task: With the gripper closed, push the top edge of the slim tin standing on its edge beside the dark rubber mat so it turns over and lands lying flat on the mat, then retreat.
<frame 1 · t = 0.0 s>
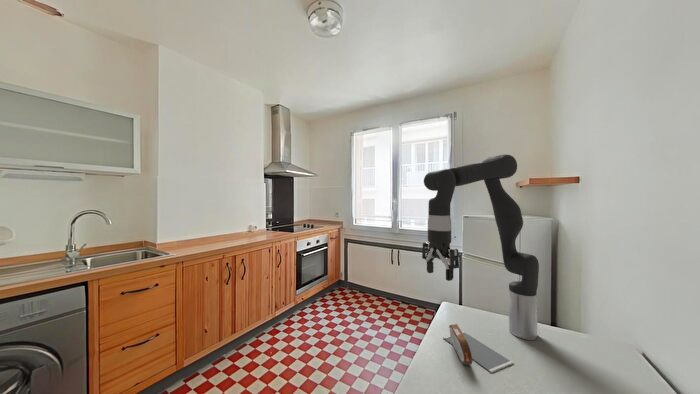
hand: (439, 276, 79), 29 cm above the table, tool pointing down, fingers open, 8 cm apart
mat: (475, 350, 86), on the table
tin: (460, 355, 83), on the table, touching mat
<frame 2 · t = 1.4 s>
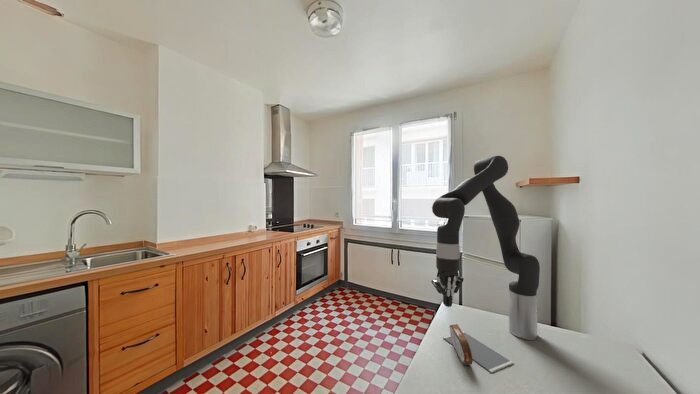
hand: (447, 305, 81), 19 cm above the table, tool pointing down, fingers closed
nothing on the table moved.
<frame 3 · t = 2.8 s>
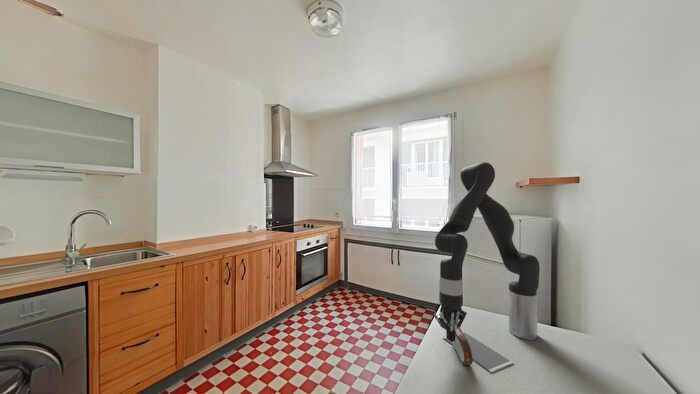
hand: (450, 340, 81), 6 cm above the table, tool pointing down, fingers closed
tin: (460, 355, 83), on the table, touching gripper, mat
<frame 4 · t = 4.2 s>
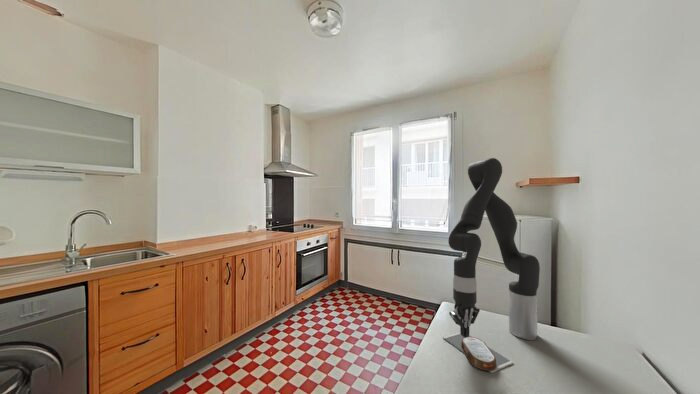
hand: (464, 336, 83), 6 cm above the table, tool pointing down, fingers closed
tin: (464, 349, 82), point 2 cm above the table, touching mat
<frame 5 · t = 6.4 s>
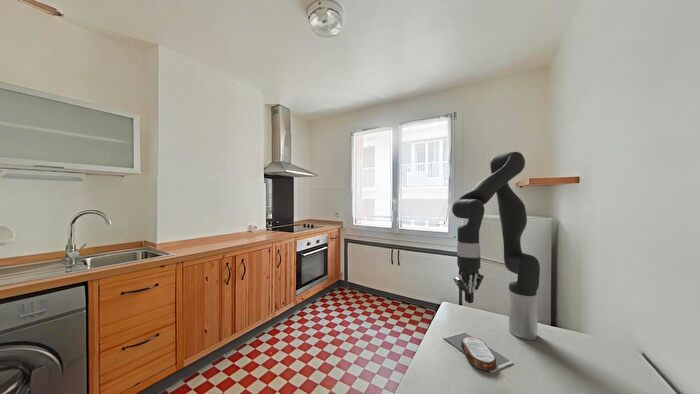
hand: (469, 302, 84), 18 cm above the table, tool pointing down, fingers closed
nothing on the table moved.
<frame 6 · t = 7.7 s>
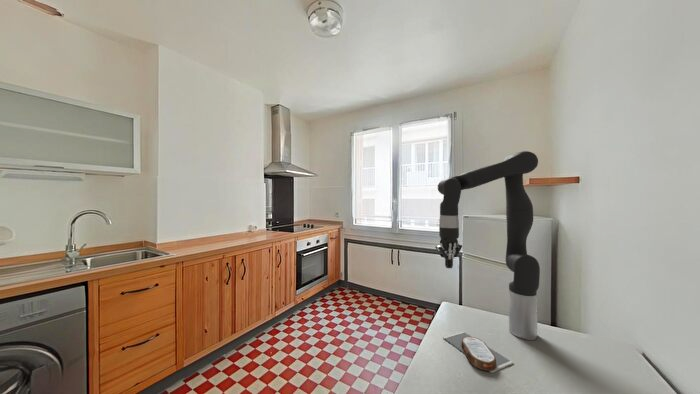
hand: (448, 267, 97), 27 cm above the table, tool pointing down, fingers closed
nothing on the table moved.
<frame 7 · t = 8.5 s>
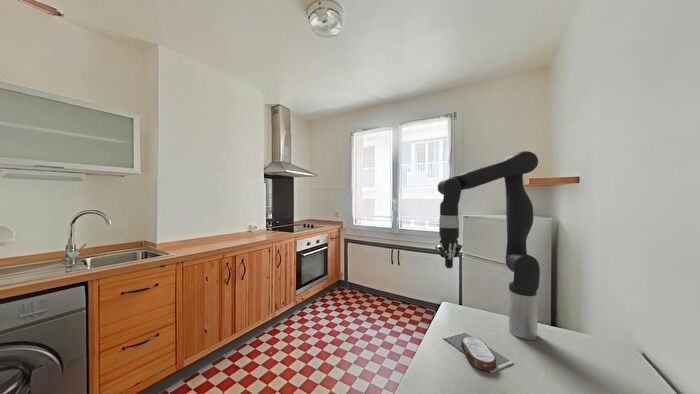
hand: (448, 267, 97), 27 cm above the table, tool pointing down, fingers closed
nothing on the table moved.
at the end: tin tilted 94°; tin inside the target area on the mat (5.7 cm from its centre), point 2.0 cm above the mat's base; the gripper is holding nothing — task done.
